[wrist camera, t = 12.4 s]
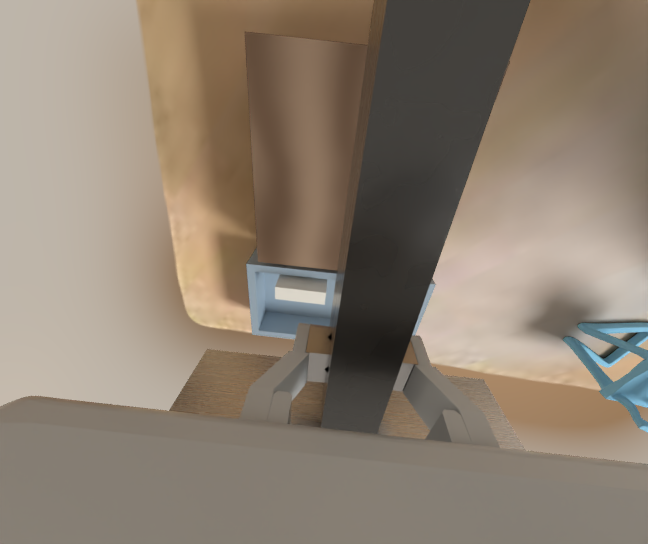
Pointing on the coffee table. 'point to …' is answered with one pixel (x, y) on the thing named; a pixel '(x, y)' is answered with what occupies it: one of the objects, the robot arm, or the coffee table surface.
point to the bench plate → (302, 144)
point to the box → (284, 314)
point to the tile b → (301, 289)
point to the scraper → (393, 217)
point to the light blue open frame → (635, 387)
